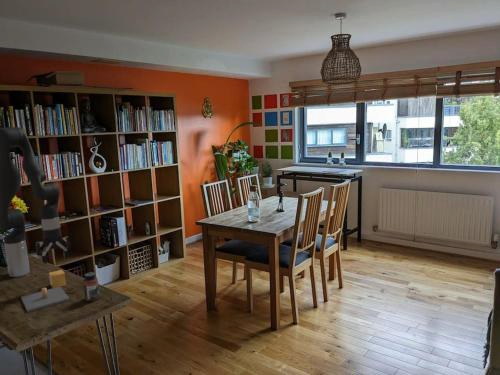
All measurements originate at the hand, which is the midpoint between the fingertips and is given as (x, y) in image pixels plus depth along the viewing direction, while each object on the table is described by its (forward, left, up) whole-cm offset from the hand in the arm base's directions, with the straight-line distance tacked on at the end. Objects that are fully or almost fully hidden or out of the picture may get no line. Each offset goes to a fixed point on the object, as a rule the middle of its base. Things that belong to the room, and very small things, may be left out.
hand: (55, 260), depth 182 cm
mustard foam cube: (0, 0, -12) cm, 12 cm away
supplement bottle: (+26, +8, -12) cm, 30 cm away
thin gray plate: (+13, -8, -12) cm, 19 cm away
